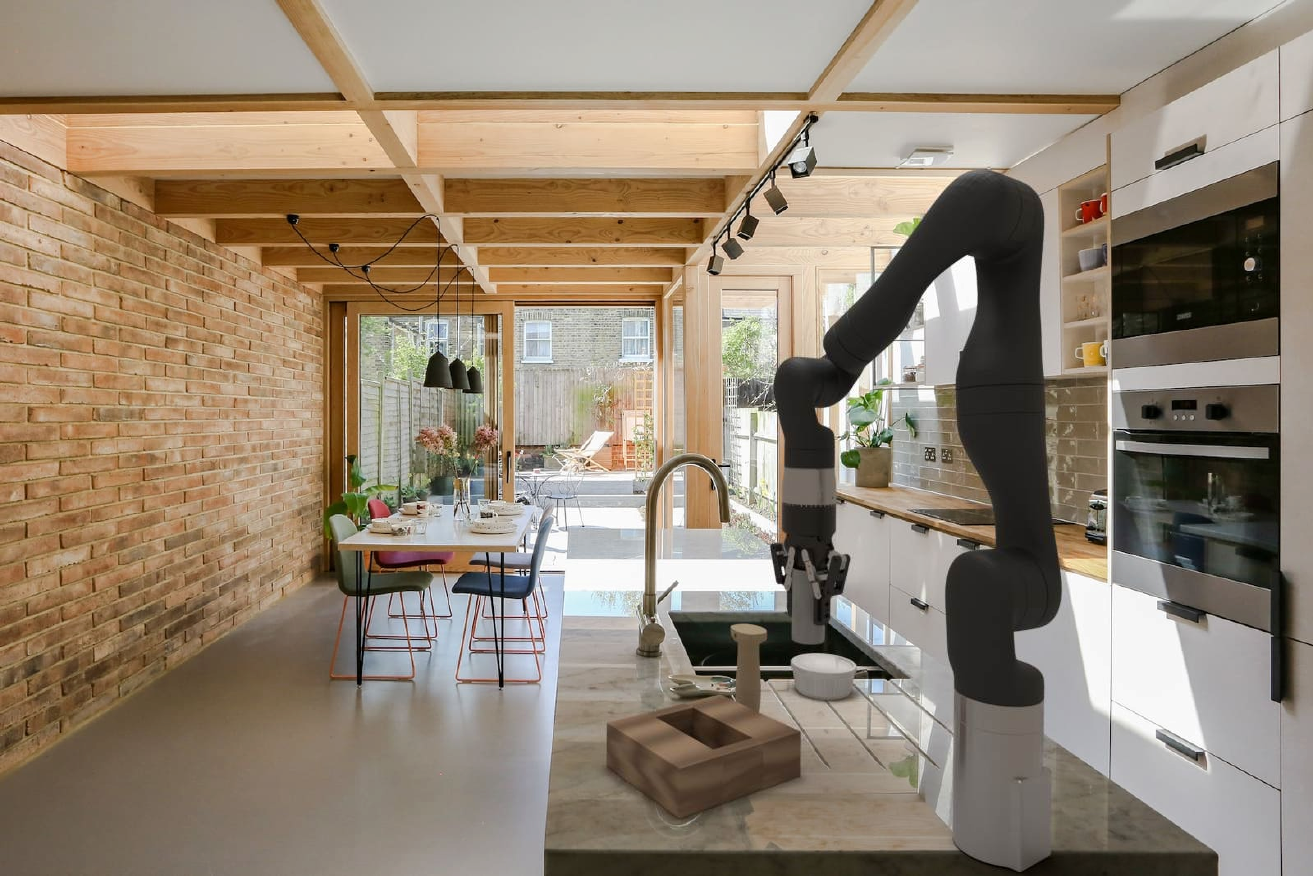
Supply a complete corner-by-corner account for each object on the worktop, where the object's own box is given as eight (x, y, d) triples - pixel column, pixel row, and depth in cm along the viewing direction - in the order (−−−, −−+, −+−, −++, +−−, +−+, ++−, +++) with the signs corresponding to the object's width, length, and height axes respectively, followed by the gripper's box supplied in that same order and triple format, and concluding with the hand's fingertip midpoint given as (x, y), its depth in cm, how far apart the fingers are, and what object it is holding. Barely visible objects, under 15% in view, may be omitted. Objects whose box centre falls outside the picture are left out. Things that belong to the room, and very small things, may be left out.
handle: (745, 734, 117) (746, 635, 117) (724, 719, 123) (724, 625, 123) (772, 729, 119) (773, 632, 119) (749, 714, 125) (750, 622, 125)
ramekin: (869, 698, 133) (869, 668, 133) (813, 707, 129) (814, 675, 129) (831, 678, 144) (832, 650, 143) (779, 685, 139) (779, 656, 139)
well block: (800, 776, 103) (800, 731, 103) (679, 818, 92) (679, 768, 92) (720, 733, 117) (720, 694, 117) (606, 766, 106) (606, 722, 106)
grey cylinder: (802, 634, 112) (802, 563, 112) (830, 639, 109) (831, 567, 109) (785, 640, 109) (786, 567, 109) (814, 646, 106) (815, 572, 106)
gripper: (866, 503, 105) (865, 628, 105) (793, 494, 117) (792, 607, 117) (827, 506, 101) (825, 636, 101) (755, 496, 113) (754, 613, 113)
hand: (807, 620), depth 109 cm, fingers closed on grey cylinder, 4 cm apart
